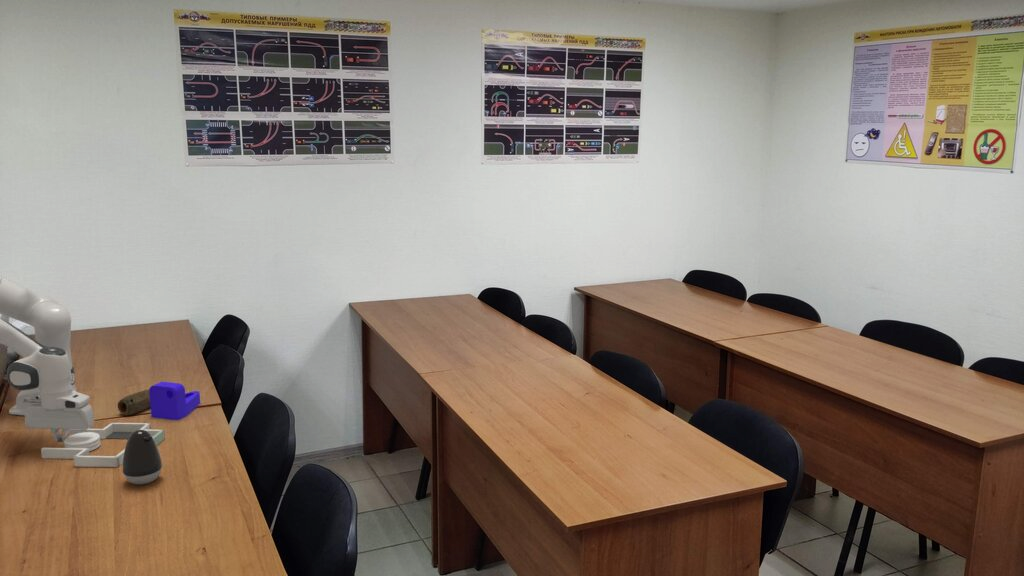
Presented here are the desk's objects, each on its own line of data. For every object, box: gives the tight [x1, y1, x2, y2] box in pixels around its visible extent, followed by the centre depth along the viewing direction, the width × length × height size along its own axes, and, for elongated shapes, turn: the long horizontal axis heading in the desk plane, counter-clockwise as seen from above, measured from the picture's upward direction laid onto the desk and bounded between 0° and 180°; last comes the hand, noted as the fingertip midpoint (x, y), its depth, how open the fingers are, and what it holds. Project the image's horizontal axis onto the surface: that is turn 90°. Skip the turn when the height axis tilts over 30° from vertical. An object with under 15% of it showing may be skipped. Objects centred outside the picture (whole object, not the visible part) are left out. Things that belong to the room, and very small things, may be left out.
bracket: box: [148, 381, 201, 421], centre depth 286 cm, size 18×11×12 cm, turn 164°
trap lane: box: [40, 422, 166, 468], centre depth 252 cm, size 30×28×3 cm
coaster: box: [63, 432, 101, 453], centre depth 252 cm, size 10×10×4 cm
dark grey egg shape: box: [121, 430, 163, 485], centre depth 228 cm, size 10×10×15 cm
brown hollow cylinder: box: [117, 389, 151, 416], centre depth 286 cm, size 15×7×7 cm, turn 163°
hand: (61, 441), depth 252 cm, fingers closed
